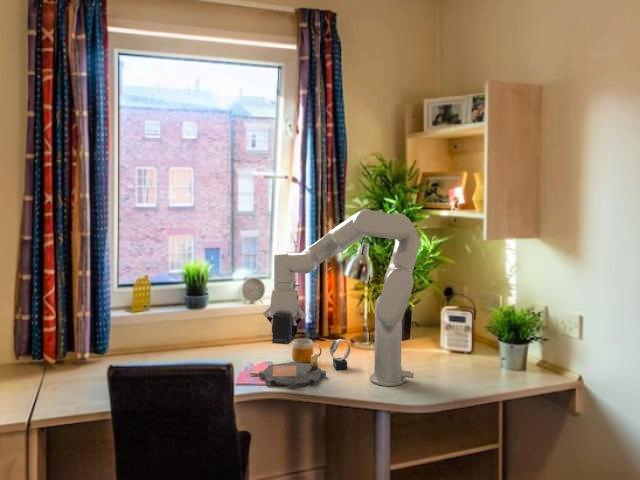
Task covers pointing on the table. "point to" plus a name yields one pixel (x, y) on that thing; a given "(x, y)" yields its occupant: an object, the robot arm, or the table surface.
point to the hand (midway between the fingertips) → (284, 334)
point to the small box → (282, 328)
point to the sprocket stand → (254, 373)
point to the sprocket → (293, 373)
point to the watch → (339, 362)
